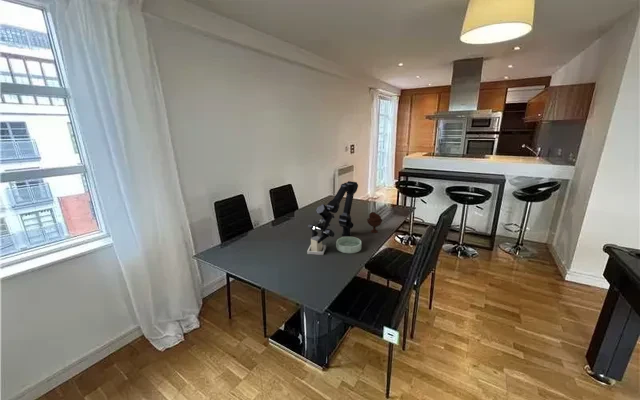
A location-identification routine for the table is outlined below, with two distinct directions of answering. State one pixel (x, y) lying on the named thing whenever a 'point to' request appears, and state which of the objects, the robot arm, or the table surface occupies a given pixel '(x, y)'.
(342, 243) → the serving bowl
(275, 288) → the table surface
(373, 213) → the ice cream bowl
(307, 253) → the square frame
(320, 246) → the cream grey rectangular block
